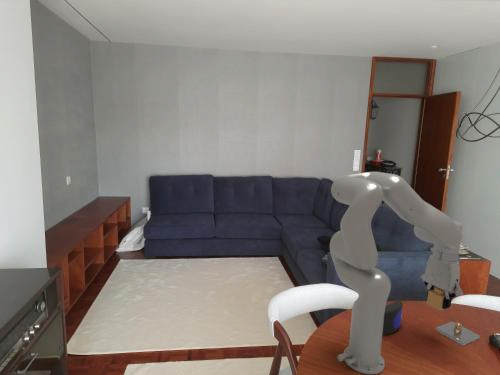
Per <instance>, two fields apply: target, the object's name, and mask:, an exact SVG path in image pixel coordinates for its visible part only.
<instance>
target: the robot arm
mask: <svg viewBox="0 0 500 375" xmlns="http://www.w3.org/2000/svg"><path fill="white" fill-rule="evenodd" d="M330 190H331V191H330V192H331V195H332V198H333V199H335V201H337V202H338V203H340V204H344V205H348V208H347V210H346V211H345V213H344V214H343V216H342V218H341V220H340V223H339V224H340V228H339V229H340V230H338V231H337V232H335V233H333V235H332V236H331V238H330V242H329V252H330V256H331V259H332V263H333V265H334V268H335V271H336V274H337V277H338V279H339V280H340V281H341V282H342V284H344V285H345V286H347V287H348V288H350V289H351V290H353V291H354V292H355V293H357V294H358V297H357V299H356V300H355V301H354V302H353V304H352V306H351V307H352V308H351V318H350V319H351V320H350V331H349V332H350V333H349V343H348V346H346V348H345V349H344V350H343V353H340V354H338V355H337V357H336V358H337V360H338V362H340V363H342V362H343V361H344V362H345V364H346V365H347V366H349V368H351V370H352V369H353V370H354V371H356V372H358V373H361V374H365V375H377V374H380V373H382V372H383V371H384V369H385V366H386V365H385V364H386V362H385V359H384V358H383V356H382V355H381V353H382V352H381V350H382V344H383V343H382V342H383V335H382V333H383V323H384V313H385V306H386V305H387V301H388V299H389V296H390V293H391V288H392V284H391V283H392V282H391V279H390V278H389V276H388V275H387V274H386V273H385V272H383V271H382V270H380V269H379V268H377V267H376V266H377V264H378V262H379V253H378V250H377V249H378V248H377V245H376V242H375V237H374V234H373V230H372V220H373V217H374V215H375V213H376V211H377V210H378V209H379V207H380V206H381V204H382V202H384V203H385V204H386V205H387V206H388V207H389V208H390V209H392V211H393V212H394V213H396V215H397V216H398V217H399V218H400V219H401V220H403V221H405V222H407V223H408V224H410V225H413V233H414V235H415V236H416V238H418V239H419V240H421V241H424V242H426V243H428V244H433V247H430V249H429V251H431V252H432V254H431V255H429V257H428V259H427V260H428V261H427V263H426V266H425V271H424V273H423V274H421V275H420V279H421V280H422V281H423V283H424V285H425V286H426V290H427V292H426V293H427V294H426V299H427V298H428V291H430V290H434V286H436V287H438V288H440V289H442V290H445V298H444V300H443V306H442V308H443V309H445V310H448V309H450V308H451V305H452V299H453V298H455V297H458V296H462V295H464V292H463V290H462V288H461V286H460V279H461V278H460V277H461V276H460V275H461V270H460V268H461V267H460V262H459V261H458V259H459V254H460V248H461V244H462V241H463V224H462V222H460V221H457V220H455V219H454V220H453V219H452V218H451V217H450V216H448V215H447V214H446V213H445V212H442V211H441V210H440V209H438V208H436V207H434V206H433V205H431V204H430V203H428V201H427V202H426V201H425V200H424V199H423V198H421V196H420V195H419V194H418V193H417V192H416V191H415V189H413V188H412V186H410V185H409V183H408V182H407V181H406V180H405V179H404V178H403V177H402V176H400V175H398V174H394V173H386V172H382V171H367V172H365V171H364V172H358V173H353V174H345V175H342V176H341V175H340V176H339V177H337V178H336V179H335V180H334V181H333V182H332V184H331V189H330ZM454 291H455V292H454ZM447 308H448V309H447Z"/></svg>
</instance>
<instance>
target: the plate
mask: <svg viewBox="0 0 500 375" xmlns="http://www.w3.org/2000/svg"><path fill="white" fill-rule="evenodd" d="M435 332H438V333H440V334H441V335H442V336H444V337H447V338H448V339H450V340H452V341H453V342H455V343H457V344H458V345H461V346H463V347H464V346H466V345H469V344H471V343H473V342H475V341H477V340H480V337H481V335H479V334H477V333H475V332H473V331H472V330H470V329H468V328H466V327H464V326H463V324H462V323H461V321H460V322H459V321H455V322H454V321H453V320H452V321H449V322H447V323H444V324H441V325H438V326H437V327H435Z"/></svg>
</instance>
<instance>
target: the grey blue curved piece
mask: <svg viewBox="0 0 500 375" xmlns="http://www.w3.org/2000/svg"><path fill="white" fill-rule="evenodd" d="M403 306H404V303H403V302H402V301H401V300H396V301H393V302H391V303H389V304H386V306H385V313H384V323H383V333H382V336H383V335H391V334H393V333H395V332H396V331H398V330H399V329H400V327H401V324H402V317H403Z"/></svg>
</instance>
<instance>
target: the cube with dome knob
mask: <svg viewBox="0 0 500 375" xmlns="http://www.w3.org/2000/svg"><path fill="white" fill-rule="evenodd" d="M427 293H428V298H427V297H426V305H428V306H429V307H432V308H434V309H436V310H437V311H440V312H442V311H445V310H448V309H449V308H447V309H443V308H442V306H443V300H444V298H445V290H442V289H440V288H438V287H436V286H434V290H430V291H428V290H427Z"/></svg>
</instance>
